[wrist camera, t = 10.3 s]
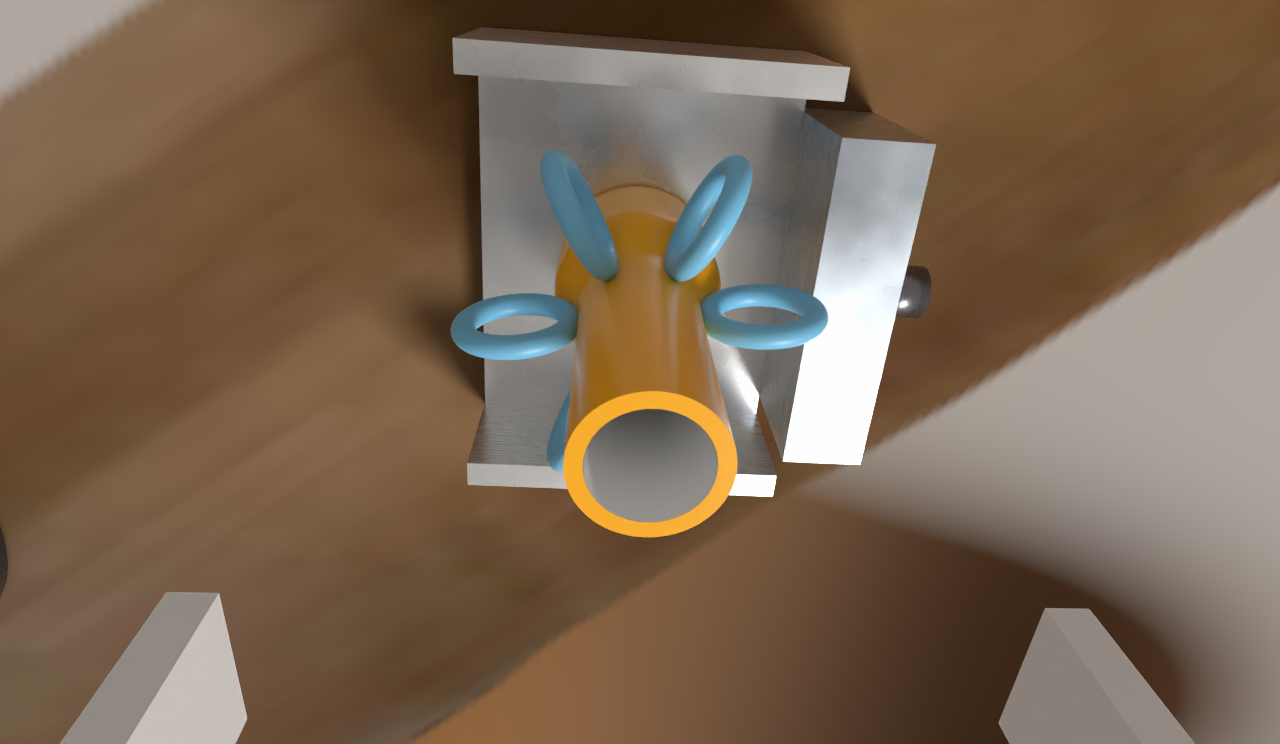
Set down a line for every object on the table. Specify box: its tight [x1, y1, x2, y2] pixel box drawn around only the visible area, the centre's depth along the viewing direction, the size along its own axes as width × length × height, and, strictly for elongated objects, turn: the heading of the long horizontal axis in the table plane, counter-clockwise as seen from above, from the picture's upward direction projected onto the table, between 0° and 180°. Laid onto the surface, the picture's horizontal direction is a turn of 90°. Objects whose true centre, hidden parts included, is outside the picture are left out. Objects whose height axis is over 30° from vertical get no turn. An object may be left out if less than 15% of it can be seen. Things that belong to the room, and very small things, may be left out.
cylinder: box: [451, 149, 828, 537], centre depth 24 cm, size 12×10×15 cm
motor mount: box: [452, 27, 936, 497], centre depth 29 cm, size 17×16×6 cm
